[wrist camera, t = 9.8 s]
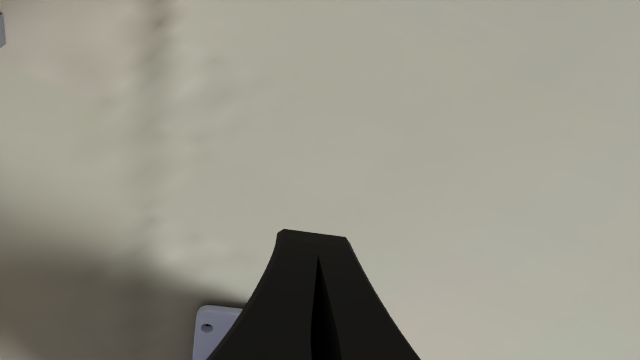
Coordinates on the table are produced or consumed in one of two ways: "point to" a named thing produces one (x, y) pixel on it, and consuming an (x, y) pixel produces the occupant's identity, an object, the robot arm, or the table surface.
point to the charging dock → (2, 31)
